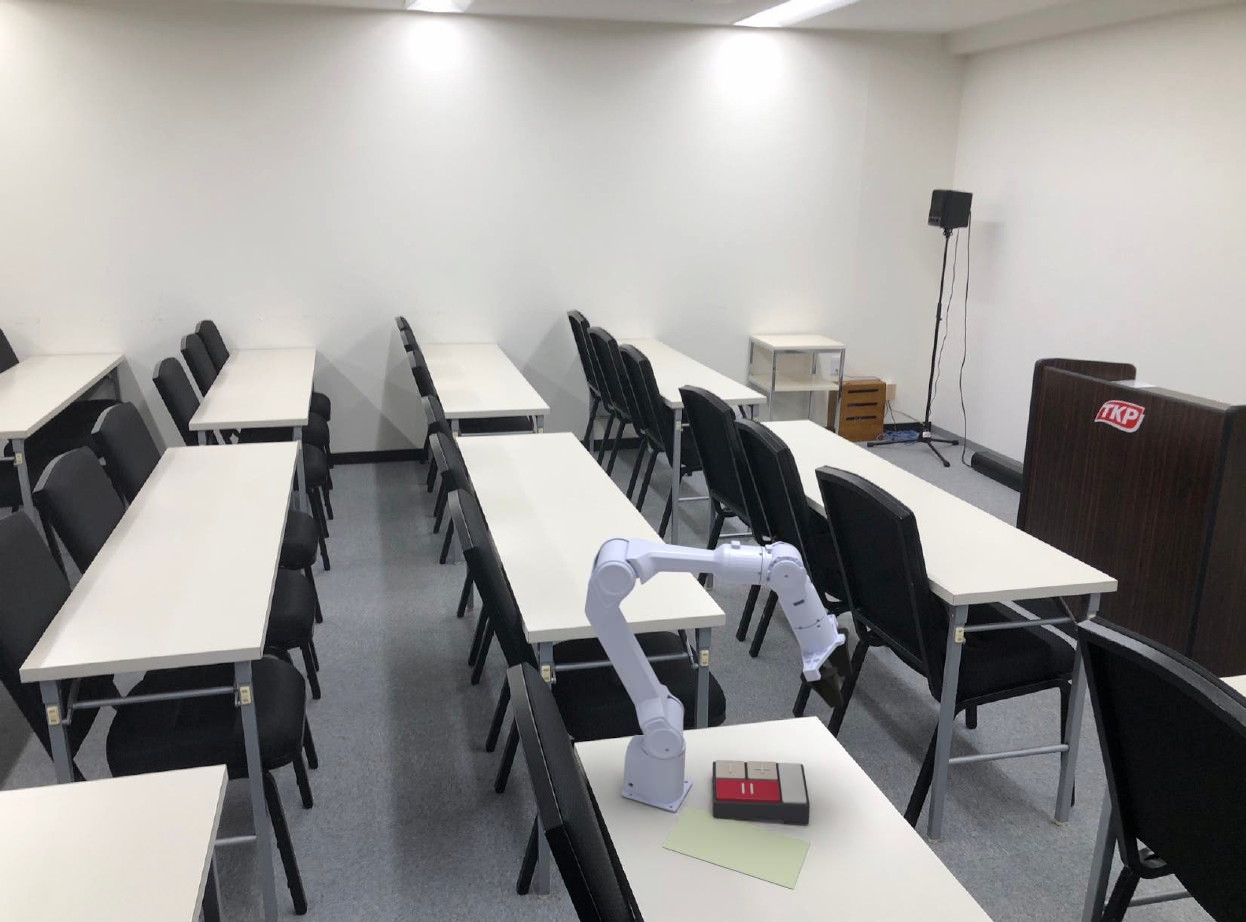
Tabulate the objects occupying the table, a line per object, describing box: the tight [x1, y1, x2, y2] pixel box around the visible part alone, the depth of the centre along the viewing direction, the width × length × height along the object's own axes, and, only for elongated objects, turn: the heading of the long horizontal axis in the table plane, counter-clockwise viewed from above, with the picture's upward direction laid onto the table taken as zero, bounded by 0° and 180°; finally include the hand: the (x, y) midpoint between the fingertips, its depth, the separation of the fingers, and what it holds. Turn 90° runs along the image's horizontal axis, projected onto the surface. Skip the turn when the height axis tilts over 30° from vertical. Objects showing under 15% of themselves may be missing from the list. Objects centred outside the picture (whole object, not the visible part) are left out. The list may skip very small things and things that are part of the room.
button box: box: [712, 759, 811, 825], centre depth 153 cm, size 11×4×15 cm
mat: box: [662, 805, 811, 890], centre depth 143 cm, size 20×10×1 cm, turn 66°
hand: (841, 689), depth 147 cm, fingers open, 7 cm apart
